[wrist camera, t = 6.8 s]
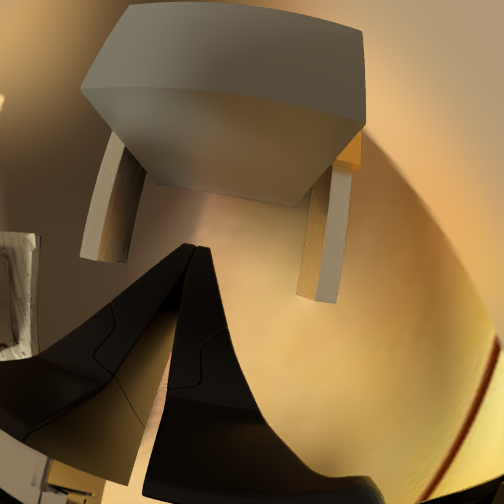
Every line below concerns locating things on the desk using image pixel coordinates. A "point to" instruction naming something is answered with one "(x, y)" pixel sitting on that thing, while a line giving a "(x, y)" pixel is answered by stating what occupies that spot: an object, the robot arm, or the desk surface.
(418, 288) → the desk surface
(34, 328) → the packaged product
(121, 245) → the rack bay
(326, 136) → the grey rectangular block
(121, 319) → the robot arm
